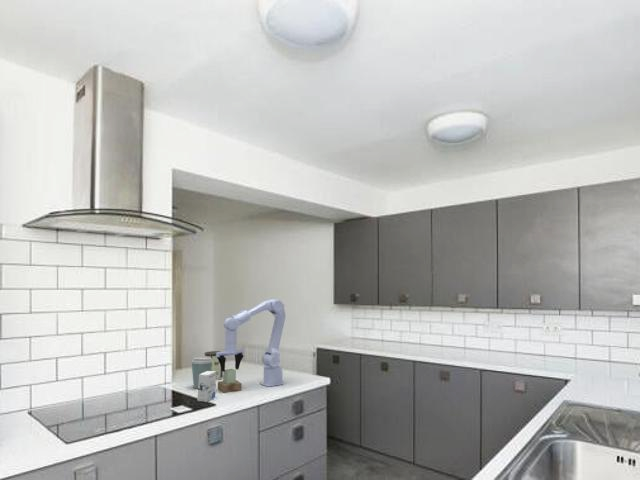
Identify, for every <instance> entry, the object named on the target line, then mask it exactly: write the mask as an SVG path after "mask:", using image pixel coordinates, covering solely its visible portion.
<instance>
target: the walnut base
mask: <svg viewBox="0 0 640 480" xmlns="http://www.w3.org/2000/svg"><path fill="white" fill-rule="evenodd" d="M217 390H218V391H219V392H221V393H223V394H226V393H235V392H242V382H240V381H239V380H237V379H236V383H230V384H226V383H223V380H222V381H217Z"/></svg>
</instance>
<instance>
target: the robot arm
mask: <svg viewBox="0 0 640 480" xmlns="http://www.w3.org/2000/svg"><path fill="white" fill-rule="evenodd" d="M264 311H268V312H270V313H271V314H272V316H273V317H274V322H273V324H272V329H271V334H270V340H269V343H268V347H267V348H266V350H264V351H265V352H264V354H263V355H262V357H261V362H262V363H263V382H260V383H259V384H260V385H263V386H265V387H274V386H280V385H284V383H283V368H282V367H281V366H280V362H281V361H280V360H281V359H280V356H281V355H280V350H279V349H280V348H279V347H280V343H281V339H282V334H283V330H284V326H285V320H286V316H287V315H286V311H285V303H283V302H282V300H280V299H272V298H269V299H268V300H264V301H263V302H261V303H259V304H257V305H256V306H254V307H252V308H250V309H249V310H246V309H245V310H240V311H239V312H238V313H237V314H235V315H234V314H233V315H231V317H228V318H226V319H225V320H224V322H223V327H224V328H225V329H224V330H225V332H224V350H223V351H221V352H217V353H216V357H217V359H218V360H219V363H220V366H221V371H223V372H224V371H225V370H226V362H227V361H226V360H227V357H226V356H234V361H235V363H234V364H235V366H234V370H236V371H237V370H239V369H240V365H241V361H242V360H243V358H244V355H245V349H237V342H238V341H237V335H238V332H237V331H238V330H237V329H238V328H239V327H240V326H242V325H244V324H245V323H247V322H249V321H250V320H251V318H252V317H253V316H256V315H257V314H260V313H262V312H264Z"/></svg>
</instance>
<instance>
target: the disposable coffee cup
mask: <svg viewBox="0 0 640 480" xmlns="http://www.w3.org/2000/svg"><path fill="white" fill-rule="evenodd" d="M212 362H213V360H212V358H208V357H205V356H202V357H201V356H199V357H193V358H192V359H191V361H190V363H191V371H192V381H193V382H192V383H193V388H194V389H196V390H198V383H199V374H201V373H204V372H206V371H211V366H212Z"/></svg>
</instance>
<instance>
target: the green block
mask: <svg viewBox="0 0 640 480" xmlns="http://www.w3.org/2000/svg"><path fill="white" fill-rule="evenodd" d="M236 380H237V369H235V368H227V369H225V371H224V372H223V378H222V381H223V383H226V384H230V383H236Z"/></svg>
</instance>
